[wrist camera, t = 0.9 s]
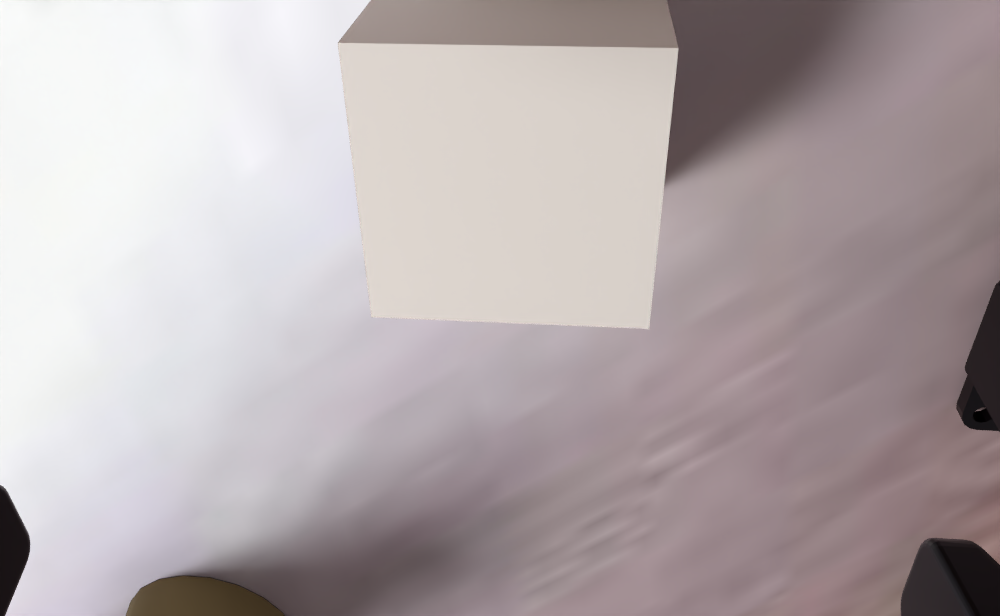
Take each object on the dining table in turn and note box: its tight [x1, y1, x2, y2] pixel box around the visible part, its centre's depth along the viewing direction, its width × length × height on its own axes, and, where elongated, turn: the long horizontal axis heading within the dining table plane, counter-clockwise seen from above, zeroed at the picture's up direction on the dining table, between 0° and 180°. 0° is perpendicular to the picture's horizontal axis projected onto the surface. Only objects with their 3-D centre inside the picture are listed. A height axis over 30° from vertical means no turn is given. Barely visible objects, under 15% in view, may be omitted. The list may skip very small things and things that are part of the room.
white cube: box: [338, 0, 679, 329], centre depth 16 cm, size 5×5×5 cm
